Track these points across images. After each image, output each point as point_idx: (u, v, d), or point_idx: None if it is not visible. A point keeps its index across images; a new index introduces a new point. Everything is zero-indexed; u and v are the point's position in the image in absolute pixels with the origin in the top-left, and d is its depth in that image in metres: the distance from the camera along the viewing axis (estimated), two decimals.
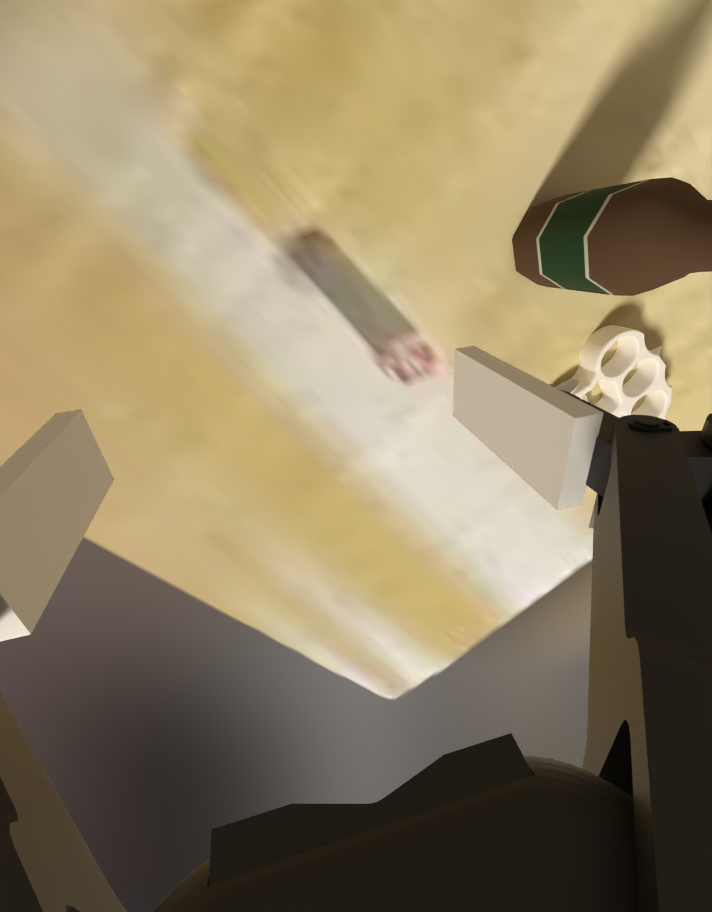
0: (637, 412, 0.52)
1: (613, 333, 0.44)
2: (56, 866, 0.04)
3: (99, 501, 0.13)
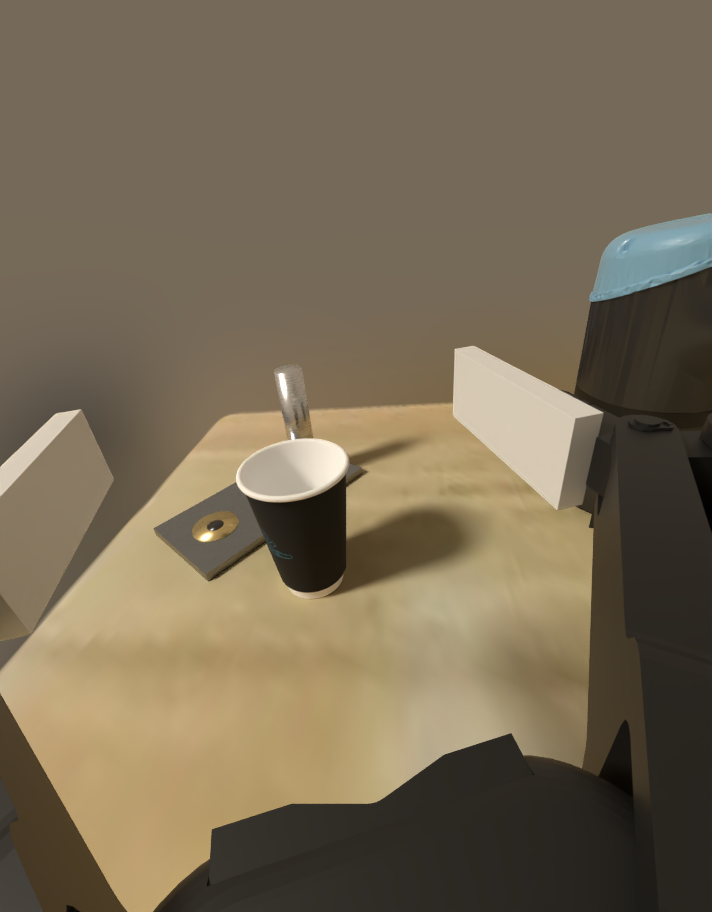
0: None
1: None
2: (56, 866, 0.04)
3: (99, 501, 0.13)
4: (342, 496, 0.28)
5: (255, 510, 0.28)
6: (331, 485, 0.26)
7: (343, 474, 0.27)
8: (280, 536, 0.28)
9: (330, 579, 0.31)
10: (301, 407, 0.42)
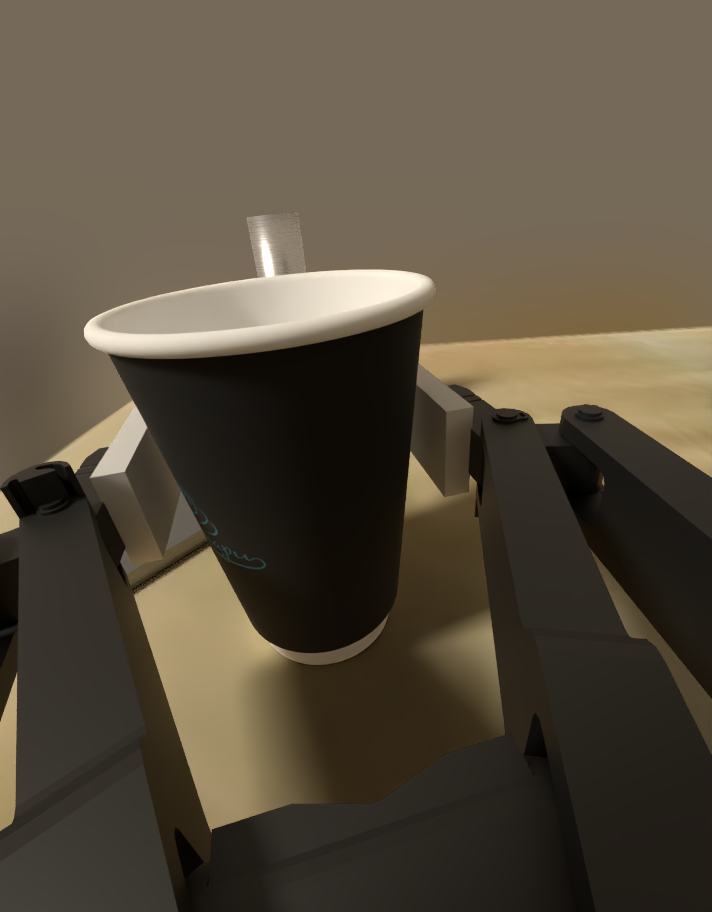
0: None
1: None
2: (169, 786, 0.04)
3: None
4: (413, 386, 0.10)
5: (145, 417, 0.09)
6: (396, 311, 0.07)
7: (428, 295, 0.08)
8: (226, 500, 0.09)
9: (366, 620, 0.12)
10: None
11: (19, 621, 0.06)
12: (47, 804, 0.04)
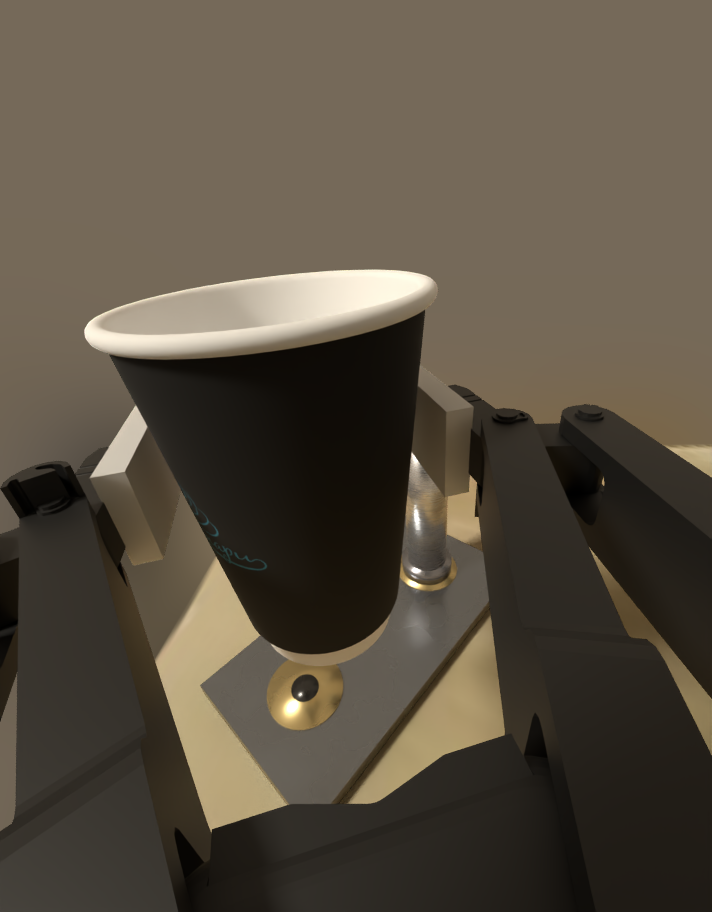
0: None
1: None
2: (169, 786, 0.04)
3: None
4: (414, 386, 0.10)
5: (146, 418, 0.09)
6: (398, 312, 0.07)
7: (430, 295, 0.08)
8: (228, 502, 0.09)
9: (368, 621, 0.12)
10: None
11: (19, 621, 0.06)
12: (47, 804, 0.04)
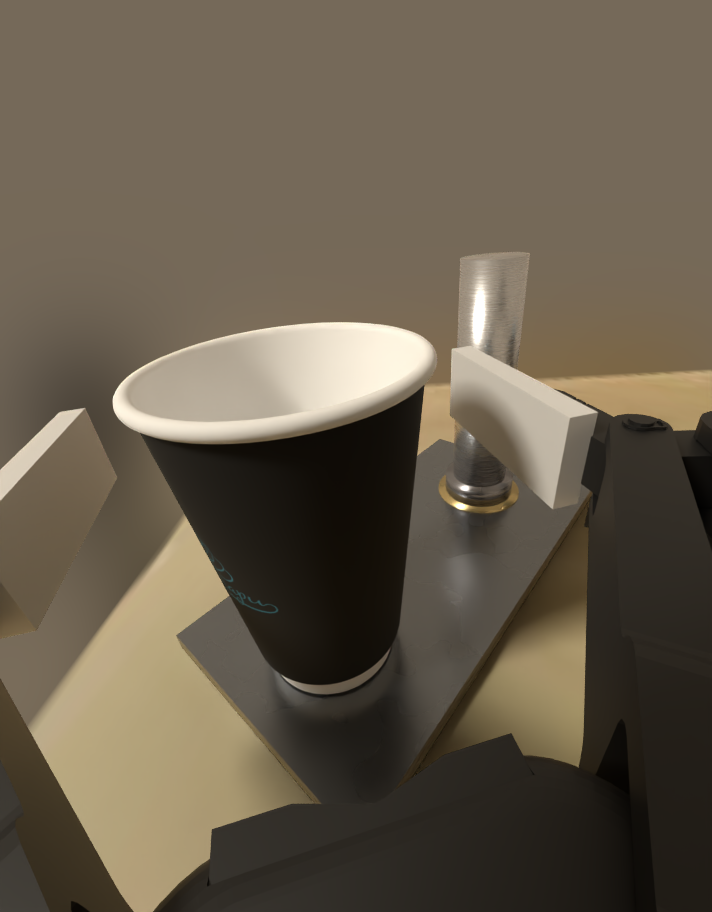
0: None
1: None
2: (61, 862, 0.04)
3: (103, 499, 0.13)
4: (415, 445, 0.10)
5: (168, 480, 0.09)
6: (401, 394, 0.08)
7: (430, 370, 0.09)
8: (243, 556, 0.10)
9: (371, 654, 0.13)
10: (514, 349, 0.18)
11: None
12: None
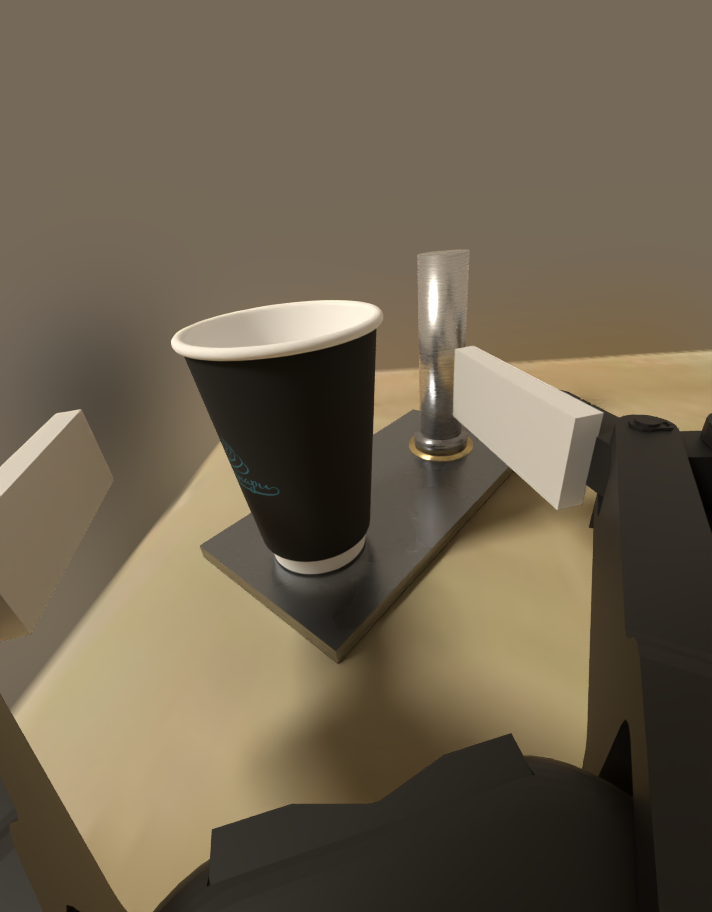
0: None
1: None
2: (56, 866, 0.04)
3: (99, 501, 0.13)
4: (370, 377, 0.15)
5: (207, 396, 0.14)
6: (354, 333, 0.13)
7: (375, 322, 0.14)
8: (256, 447, 0.15)
9: (346, 538, 0.18)
10: (461, 325, 0.23)
11: None
12: None
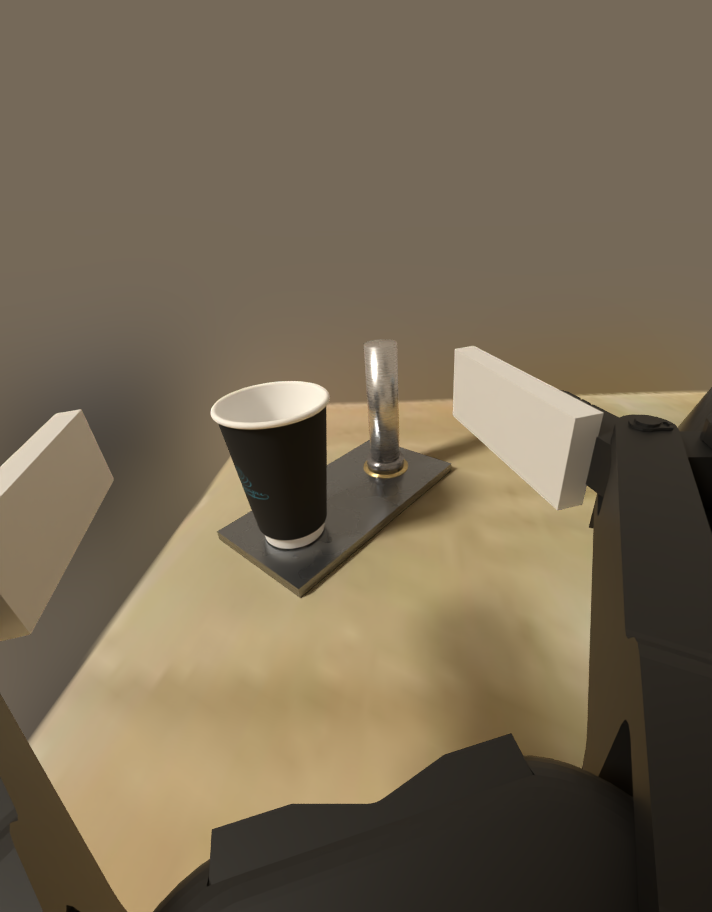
0: None
1: None
2: (56, 866, 0.04)
3: (99, 501, 0.13)
4: (322, 433, 0.27)
5: (230, 444, 0.26)
6: (309, 414, 0.25)
7: (322, 406, 0.26)
8: (256, 472, 0.26)
9: (309, 526, 0.30)
10: (393, 389, 0.35)
11: None
12: None
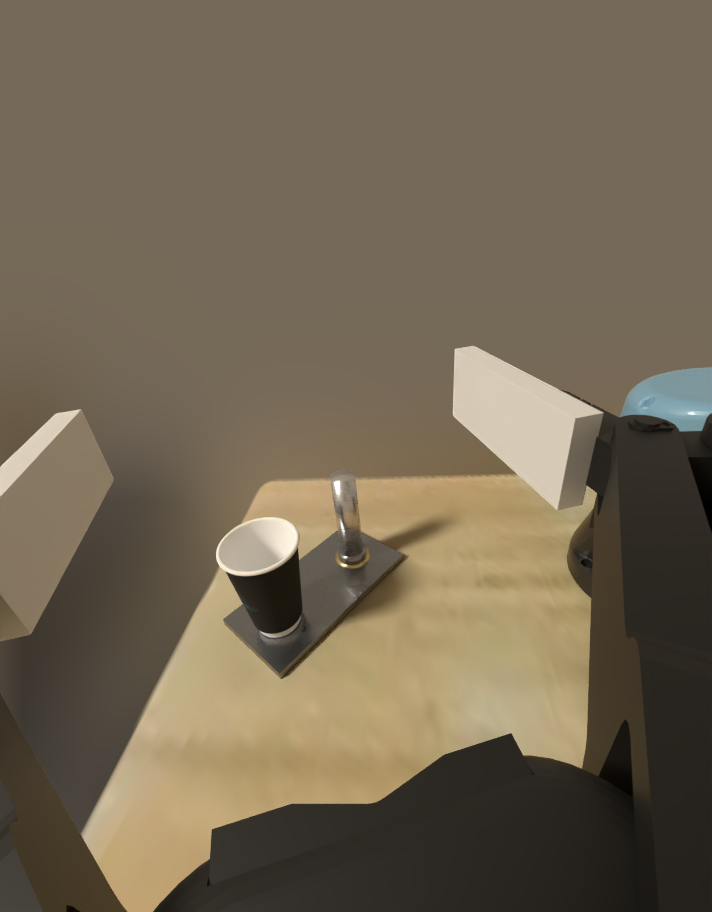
0: None
1: None
2: (56, 866, 0.04)
3: (99, 501, 0.13)
4: (294, 566, 0.39)
5: (230, 578, 0.38)
6: (283, 562, 0.37)
7: (293, 553, 0.38)
8: (248, 596, 0.38)
9: (288, 624, 0.42)
10: (353, 508, 0.47)
11: None
12: None
